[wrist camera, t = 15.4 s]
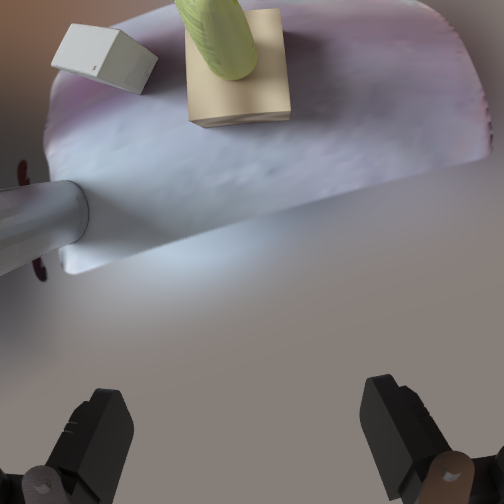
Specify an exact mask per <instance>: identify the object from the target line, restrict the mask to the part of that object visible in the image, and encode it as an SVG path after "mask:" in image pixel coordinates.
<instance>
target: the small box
mask: <svg viewBox="0 0 504 504" xmlns="http://www.w3.org/2000/svg"><path fill="white" fill-rule="evenodd" d="M157 60H158V57H157V56H156V55H154V54H153V53H152V52H150V51H149V50H148V49H146V48H145V47H144V46H142V45H141V44H140V43H138V42H137V41H135V40H134V39H133V38H131V37H130V36H128V35H127V34H126V33H124V32H123V31H122V30H119V29H113V28H106V27H100V26H92V25H84V24H76V23H72V24H71V26H70V27H69V29H68V31H67V33H66V35H65V37H64V39H63V41H62V42H61V44H60V46H59V48H58V50H57V52H56V55H55V57H54V59H53V61H52V63H51V66H53V67H56V68H59V69H62V70H65V71H68V72H71V73H74V74H77V75H80V76H83V77H86V78H88V79H91V80H94V81H97V82H100V83H104V84H107V85H111V86H114V87H117V88H120V89H123V90H126V91H129V92H132V93H135V94H138V95H140V94H141V93H142V90H143V88H144V86H145V84H146V82H147V80H148V78H149V76H150V74H151V72H152V70H153V68H154V66H155V64H156V62H157Z"/></svg>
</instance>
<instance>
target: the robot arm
mask: <svg viewBox="0 0 504 504" xmlns="http://www.w3.org/2000/svg"><path fill="white" fill-rule="evenodd" d="M88 216H89V215H88V205H87V201H86V198H85V196H84V194H83V192H82V191H81V189H80V188H79V187H78V186H77V185H76V184H74V183H73V182H70V181H66V180H62V181H54V182H47V183H39V184H33V185H26V186H20V187H15V188H9V189H3V190H0V276H1V275H3V274H5V273H7V272H9V271H11V270H13V269H15V268H17V267H19V266H21V265H23V264H25V263H28V262H29V261H32V260H34V259H36V258H38V257H41V256H43V255H45V254H47V253H50V252H52V251H54V250H56V249H59V248H61V247H63V246H66V245H68V244H70V243H72V242H75V241H77V240H78V239H79V238H80V237H81V236H82V235H83V234H84V232H85V230H86V227H87V223H88ZM360 422H361V427H362V429H363V432H364V434H365V437H366V439H367V442H368V445H369V447H370V449H371V452H372V455H373V458H374V460H375V463H376V465H377V468H378V471H379V473H380V476H381V479H382V482H383V484H384V487H385V490H386V492H387V495H388V498H389V501H391V500H395V499H398V498H401V499H402V502H403V504H504V446H503V447H502V448H501V449H500V451H499V452H498V454H497V455H493V456H487V457H481V458H473V459H471V458H470V457H469V456H468V455H466V454H465V453H462V452H459V451H453V450H452V449H451V448H450V446H449V445H448V443H447V441H446V440H445V438H444V436H443V435H442V433H441V431H440V430H439V428H438V426H437V425H436V423H435V422H434V420H433V418H432V417H431V416H430V415H429V412H428V410H427V409H426V407H424V404H423V402H422V401H421V399H420V398H419V396H418V395H417V393H415V392H414V391H412V390H411V389H410V388H408V387H407V386H401V387H399V386H398V385H397V383H396V381H395V380H394V378H393V377H392V376H391V375H390V374H386V375H381V376H376V377H370V378H367V380H366V383H365V388H364V393H363V398H362V402H361V407H360ZM133 435H134V424H133V421H132V418H131V416H130V413H129V411H128V409H127V407H126V404H125V402H124V399H123V397H122V394H121V393H120V391H119V390H112V389H101V388H98V389H96V390H95V391H94V393H93V395H92V397H91V399H90V400H89V402H88V401H84V402H83V403H82V404H81V405H80V406H78V407H77V408H76V409H75V410H74V412H73V413H72V415H71V417H70V419H69V423H67V424H66V426H65V428H64V432H62V434H61V436H60V437H59V439H58V441H57V443H56V445H55V447H54V449H53V451H52V453H51V455H50V457H49V459H48V461H47V462H46V464H45V465H40V466H35V467H33V468H31V469H30V470H28V471H27V472H26V473H25V475H17V474H5V473H4V472H3V471H2V470H1V469H0V504H112V503H113V499H114V495H115V492H116V489H117V486H118V483H119V479H120V476H121V472H122V470H123V466H124V463H125V460H126V457H127V454H128V451H129V448H130V444H131V442H132V438H133Z"/></svg>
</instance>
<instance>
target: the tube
mask: <svg viewBox="0 0 504 504" xmlns="http://www.w3.org/2000/svg"><path fill="white" fill-rule="evenodd" d="M174 1H175V4H176V6H177V8H178V11H179V13H180V15H181V17H182V19H183V21H184V24H185V26H186V28H187V30H188V32H189V34H190V36H191V38H192V40H193V41H194V43H195V45H196V47H197V48H198V50H199V52H200V54H201V55H202V57H203V59H204V60H205V62H206V63H207V65H208V67H209V68H210V70H211V71H212V72H213V73H214V74H215V75H216V76H217V77H219V78H221V79H224V80H239V79H242V78H244V77H246V76H247V75H249V74H250V73H251V72H252V71H253V70H254V68H255V66H256V64H257V60H258V56H257V51H256V47H255V43H254V39H253V36H252V33H251V30H250V27H249V25H248V22H247V19H246V17H245V15H244V13H243V10H242V8H241V6H240V4H239V2H238V1H237V0H174Z"/></svg>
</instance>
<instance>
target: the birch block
mask: <svg viewBox="0 0 504 504" xmlns="http://www.w3.org/2000/svg"><path fill="white" fill-rule="evenodd" d="M243 13H244V15H245V17H246V19H247V22H248V25H249V27H250V30H251V33H252V36H253V39H254V43H255V47H256V51H257V56H258V60H257V64H256V66H255V68H254V70H253V71H252V72H251V73H250V74H249V75H247V76H246V77H244V78H242V79H239V80H224V79H221V78H219V77H217V76H216V75H215V74H214V73H213V72H212V71H211V70H210V68H209V67H208V65H207V63H206V62H205V60H204V59H203V57H202V55H201V54H200V52H199V50H198V48H197V47H196V45H195V43H194V41H193V40H192V38H191V36H190V34H189V32H188V30H187V28H186V26H185V47H186V74H187V95H188V112H189V121H190V122H192V123H194V124H197V125H199V126H201V127H203V128H207V127H215V126H224V125H233V124H243V123H255V122H268V121H284V120H290V113H291V107H290V96H289V85H288V76H287V66H286V57H285V48H284V40H283V32H282V24H281V16H280V9H279V8H277V9H262V10H251V11H243Z"/></svg>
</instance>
